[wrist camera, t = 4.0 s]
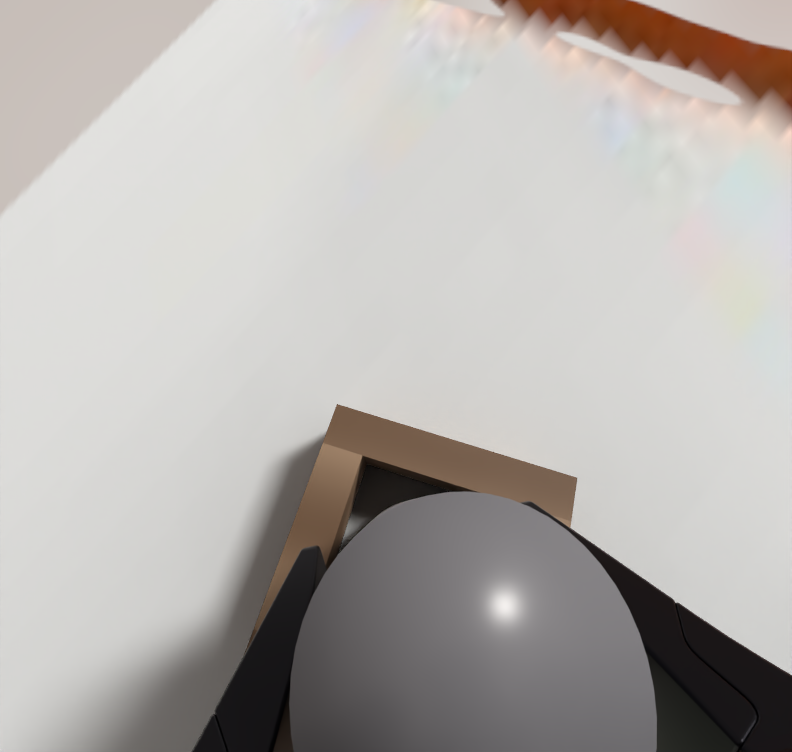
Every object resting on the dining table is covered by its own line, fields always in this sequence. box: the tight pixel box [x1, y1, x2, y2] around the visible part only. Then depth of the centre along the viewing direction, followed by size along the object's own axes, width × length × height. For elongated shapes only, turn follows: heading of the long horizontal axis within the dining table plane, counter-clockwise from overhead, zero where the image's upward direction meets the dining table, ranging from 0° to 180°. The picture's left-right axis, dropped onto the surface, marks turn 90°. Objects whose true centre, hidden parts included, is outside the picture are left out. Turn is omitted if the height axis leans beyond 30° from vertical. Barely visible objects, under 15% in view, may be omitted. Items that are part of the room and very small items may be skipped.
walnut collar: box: [244, 404, 577, 655], centre depth 14 cm, size 9×9×3 cm
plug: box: [289, 492, 657, 752], centre depth 10 cm, size 4×4×11 cm
